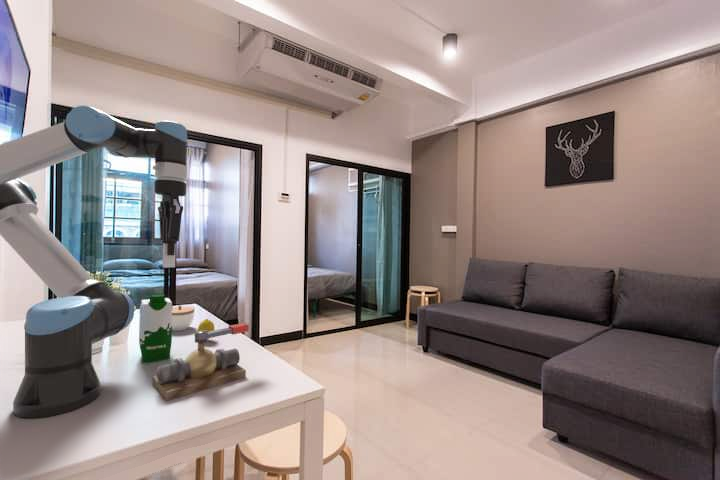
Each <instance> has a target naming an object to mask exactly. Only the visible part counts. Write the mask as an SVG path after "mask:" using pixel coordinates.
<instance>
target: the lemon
mask: <svg viewBox="0 0 720 480" xmlns="http://www.w3.org/2000/svg"><path fill="white" fill-rule="evenodd" d="M201 330H206V331H208V332H209V331H214V330H215V324H214V322H213V321H212V320H210V319H209V318H206V319H204V320H202V321H201V322H200V323H199V324H198V327H197V331H201ZM209 339H210V338H208V340H209Z"/></svg>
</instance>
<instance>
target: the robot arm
mask: <svg viewBox="0 0 720 480" xmlns="http://www.w3.org/2000/svg"><path fill="white" fill-rule="evenodd" d="M102 148H103V149H104V148H105V149H106V151H108V153H109V154H110V155H112V156H114V157H123V158H125V159H126V158H127V159H128V158H139V159H140V158H143V159H146V158H147V159H148V158H149V159H154V162H155V163H154V165H153V166H152V170H154V177H155V178H156V180H155V181H154V193H155V195H159V196H162V198H161V201H160V203H159V206H158V207H157V211H158V218H159V219H158V220H159V235H160V236H159V237H160V238H159V240H160V241H161V243H162V268H163V269H165V268H176V249H177V247H176V245H177V242H179V241H180V235H181V234H180V233H181V224H182V215H183V210H184V206H183V205H181V202H180V197H186V195H187V183H186V181H187V179H188V178H187V176H188V175H187V174H188V165H187V157H188V131H187V127H186V126H184V125H183V124H181V123H180V122H176V121H171V120H158V121H156V123H155V127H154V129H147V128H145V129H144V128H135V127H133V126H131V125H130V124H127V123H125V122H124V121H121V120H120V119H117V118H115V117H113V116H111V115H110V114H108V113H107V112H104V111H102V110H101V109H98V108H95V107H92V106H88V105H79V106H75V107H73V108H71V110H70V111H69V112H68V113H67V115H66V118H65V121H63V122H60V123H57V124H55V125H51V126H49V127H47V128H43V129H41V130H38V131H35V132H32V133H29V134H27V135H23V136H20V137H17V138H14V139H13V140H10V141H6V142H4V143H1V144H0V236H1V237H2V238H3V239H4V241H6V242H7V244H8V245H9V246H10V247H11V248H12V249H13V251H14V252H15V253H17V255H18V256H20V258H21V259H22V260H23V261H24V263H25V264H27V265H28V267H29V268H30V269H31V270H32V271H33V272H34V273H35V274H36V275H37V277H38V278H39V279H40V280H41V281H42V282H43V283H44V284H45V285H46V286H47V288H49V289H50V291H51V292H52V293H53V294H54V295H55V296H56V297H57V298H51V299H46V300H44V301H41V302H38V303H36V304H34V305H32V306H31V307H29V309H28V310H27V311H26V315H25V322H24V325H23V326H24V327H23V330H24V376H23V378H22V380H21V383H20V385H19V388H18V390H17V392H16V395H15V397H14V400H13V404H12V410H13V411H12V413H13V415H14V414H15V415H14V416H16V417H19V418H23V419H24V418H25V419H37V418H45V417H46V418H47V417H52V416H56V415H61V414H63V413H68V412H71V411H73V410H76V409H79V408H81V407H84V406H86V405H88V404H89V403H92V402H93V401H94V400H96V399H97V398H98V397H99V396H100V394H101V381H100V379H99V376H98V373H97V371H96V369H95V367H94V365H93V362H92V360H93V358H92V357H93V356H92V355H93V344H95V343H98V342H100V341H102V340H105V339H107V338H109V337H112V336H115V335H118V334H119V333H120V332H121V331H123V330H124V329H126V328H128V326H129V325H130V324H131V323H132V321H133V319H134V316H135V311H136V310H135V304H134V303H135V302H134V301H133V299H132V298H131V296H130V295H129V294H127V293H125V292H123V291H119V290H113V289H112V288H111V287H110V286H109V285H108V284H107V282H106V281H104V280H96V279H94V278H93V277H92V276H91V274H90V273H89V272H88V271H87V270H86V269H85V268H84V267H83V265H81V264H80V262H79V261H78V260H77V259H76V258H75V256H73V254H72V253H71V252H70V251H69V250H68V249H67V247H65V246H64V245H63V244H62V243H61V240H59V239H58V238H57V237H56V235H54V233H53V232H51V230H50V229H49V228H48V227H47V225H45V224H44V223H43V221H42V220H41V219H40V218H39V217H38V212H39V208H38V206H37V204H38V201H37V200H36V199H37V198H38V197H37V194H36V192H35V191H34V189H33V187H32V186H31V185H29V184H28V183H27V182H26V181H24V180H22V179H20V178H22V177H25V176H28V175H30V174H32V173H33V174H34V173H35V172H38V171H41V170H43V169H47V168H49V167H52V166H54V165H57V164H60V163H62V162H66V161H68V160H70V159H73V158H77V157H79V156H82V155H84V154H87V153H90V152H94V151H96V150H99V149H102Z"/></svg>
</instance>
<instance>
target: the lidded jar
mask: <svg viewBox="0 0 720 480" xmlns="http://www.w3.org/2000/svg"><path fill="white" fill-rule="evenodd" d="M194 317H195V307H192V306H182V305H181V304H180V305H178V306H177V307H175V306H174V307H172V331H174V332H175V331H184V330H187V329H188V328H189V327H190V326H191V324H193V321H194Z"/></svg>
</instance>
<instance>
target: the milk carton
mask: <svg viewBox="0 0 720 480" xmlns="http://www.w3.org/2000/svg"><path fill="white" fill-rule="evenodd" d="M140 303H141V304H140V305H139V306H140V307H139V324H138V325H139V326H138V328H139V330H138V332H139V335H138V336H139V337H138V341H139V342H138V343H139V349H140V354H141V358H142V363H143V364H144V363H151V362H156V361H157V362H158V361H161V360H167V359H170V357H171V350H172V344H173V343H172V340H173V339H172V338H173V330H172V308H173V302H172V301H171V299H170V298H169V297H166V295H165V294H164V293H163V294H161V293H157V294H151V295H150V296H149V299H141V302H140Z"/></svg>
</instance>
